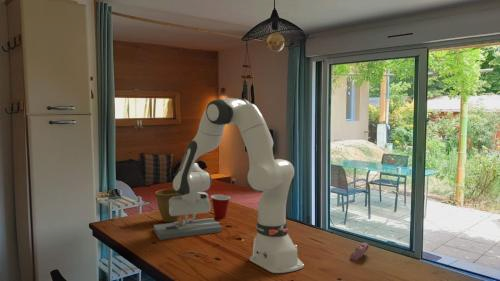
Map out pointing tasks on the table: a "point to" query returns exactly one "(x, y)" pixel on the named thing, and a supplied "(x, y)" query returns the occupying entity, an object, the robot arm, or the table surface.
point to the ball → (181, 222)
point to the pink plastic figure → (359, 251)
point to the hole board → (187, 229)
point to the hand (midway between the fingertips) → (190, 222)
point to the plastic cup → (220, 205)
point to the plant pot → (166, 204)
